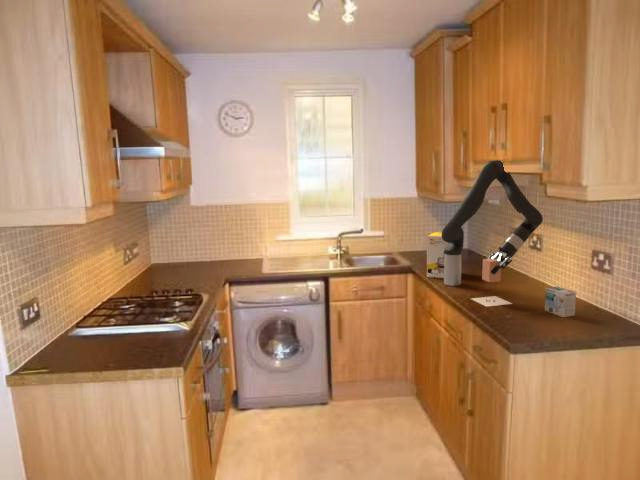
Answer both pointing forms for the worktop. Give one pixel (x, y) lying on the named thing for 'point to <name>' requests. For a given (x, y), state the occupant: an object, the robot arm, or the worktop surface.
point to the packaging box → (435, 255)
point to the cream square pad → (491, 301)
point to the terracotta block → (486, 271)
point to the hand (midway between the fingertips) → (488, 271)
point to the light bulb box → (560, 301)
